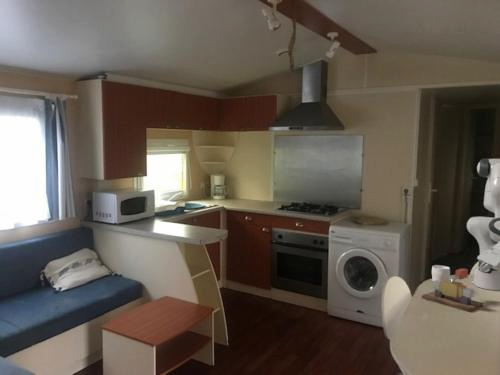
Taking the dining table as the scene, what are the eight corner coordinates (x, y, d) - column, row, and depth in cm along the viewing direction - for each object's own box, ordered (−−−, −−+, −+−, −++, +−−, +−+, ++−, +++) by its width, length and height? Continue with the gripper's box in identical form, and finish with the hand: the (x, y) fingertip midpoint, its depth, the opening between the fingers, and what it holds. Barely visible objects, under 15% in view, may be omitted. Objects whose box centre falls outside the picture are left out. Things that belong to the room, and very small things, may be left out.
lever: (454, 282, 196) (455, 273, 195) (448, 281, 198) (449, 272, 198) (467, 278, 204) (467, 269, 204) (461, 277, 206) (462, 268, 206)
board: (435, 293, 212) (436, 290, 212) (482, 306, 194) (482, 303, 194) (421, 298, 204) (421, 295, 204) (469, 311, 186) (469, 308, 185)
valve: (436, 293, 207) (437, 277, 206) (473, 303, 193) (474, 286, 192) (430, 295, 203) (431, 279, 203) (468, 306, 189) (469, 288, 188)
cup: (447, 292, 214) (448, 270, 214) (428, 289, 220) (430, 267, 219) (450, 288, 222) (451, 267, 221) (433, 285, 227) (434, 264, 226)
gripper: (487, 243, 206) (466, 261, 208) (508, 250, 186) (484, 270, 187) (496, 252, 206) (475, 270, 207) (518, 261, 186) (494, 280, 187)
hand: (479, 270), depth 197 cm, fingers closed
